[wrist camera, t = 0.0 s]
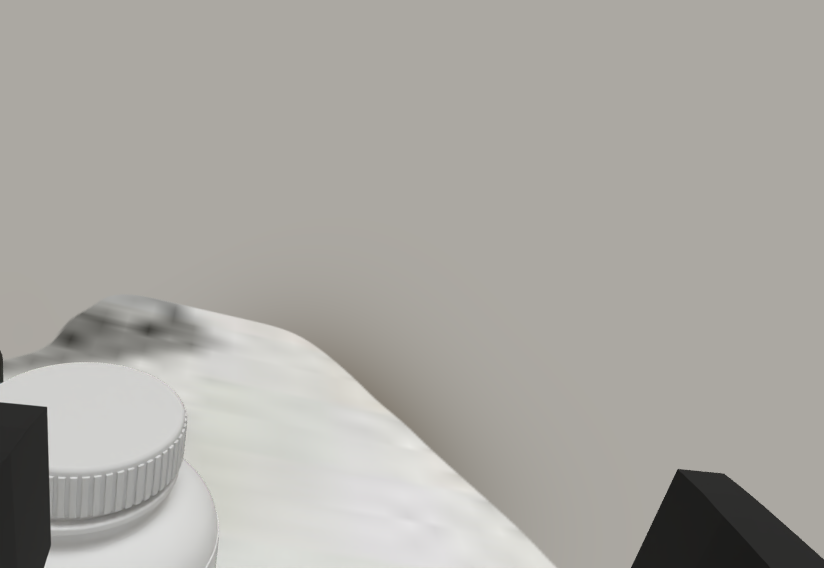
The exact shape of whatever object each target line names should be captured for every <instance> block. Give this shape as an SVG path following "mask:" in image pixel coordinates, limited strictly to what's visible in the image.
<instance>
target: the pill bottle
mask: <svg viewBox="0 0 824 568" xmlns="http://www.w3.org/2000/svg"><path fill="white" fill-rule="evenodd" d="M0 402H4V403H14V404H24V405H34V406H44V407H47V417H48V453H49V489H50V524H51V547H50V550H49V553H48V557H47V560H46V563H45V566H44V568H216V560H217V551H218V540H219V522H218V516H217V512H216V509H215V505H214V501H213V498H212V496H211V493H210V491H209V489H208V487H207V485H206V483H205V482H204V480H203V478H202V477H201V476H200V474H199V473H198V472H197V471H196V470H195V468H194V467H193V466H192V465H191V464H189V463H188V462H187V461H186V460H185V459H184V458H183V455H184V447H185V438H186V428H187V413H186V409H185V407H184V404H183V402H182V401H181V399H180V398H179V396H178V395H177V393H176V392H175V391H174V390H173V389H172V388H171V387H170V386H168V385H167V384H166V383H164V382H163V381H161V380H160V379H158V378H156V377H154V376H152V375H150V374H148V373H145V372H143V371H140V370H137V369H133V368H130V367H125V366H121V365H115V364H107V363H94V362H77V363H64V364H56V365H50V366H45V367H41V368H37V369H33V370H30V371H27V372H24V373H21V374H19V375H16V376H14V377H12V378H10V379H8V380H6V381H4V382H2V383H1V384H0Z"/></svg>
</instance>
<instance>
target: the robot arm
mask: <svg viewBox="0 0 824 568" xmlns="http://www.w3.org/2000/svg"><path fill="white" fill-rule="evenodd" d="M50 547H51V524H50V489H49V453H48V417H47V407H44V406H34V405H24V404H14V403H4V402H0V568H44V566H45V563H46V560H47V557H48V553H49V550H50ZM631 568H824V559H823V558H821V557H820V556H819V555H818V554H817V553H816V552H815V551H814V550H812V549H811V548H810V547H809V546H808V545H807V544H806V543H805V542H804V541H802V540H801V539H800V538H799V537H798V536H797V535H796V534H795V533H793V532H792V531H791V530H790V529H789V528H788V527H787V526H786V525H784V524H783V523H782V522H781V521H780V520H779V519H778V518H776V517H775V516H774V515H773V514H772V513H771V512H769V510H767V509H766V508H765V507H764V506H763V505H762V504H760V503H759V502H758V501H757V500H756V499H755V498H753V497H752V496H751V495H750V494H749V493H747V492H746V491H745V490H744V489H743V488H741V487H740V486H739V485H738V484H736V483H735V482H734V481H733V480H731V479H730V478H729V477H727V476H726V475H725V474H721V473H711V472H701V471H691V470H681V469H678V470H677V472H676V474H675V476H674V478H673V480H672V483H671V485H670V487H669V489H668V491H667V493H666V495H665V497H664V499H663V501H662V504H661V506H660V508H659V510H658V512H657V514H656V516H655V518H654V521H653V523H652V525H651V527H650V529H649V531H648V533H647V536H646V538H645V540H644V542H643V544H642V546H641V548H640V550H639V552H638V554H637V556H636V559H635V561H634V563H633V565H632V567H631Z"/></svg>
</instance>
